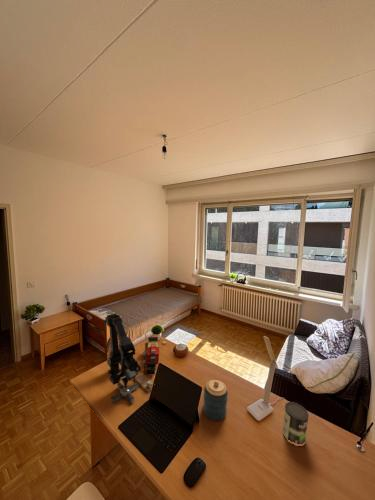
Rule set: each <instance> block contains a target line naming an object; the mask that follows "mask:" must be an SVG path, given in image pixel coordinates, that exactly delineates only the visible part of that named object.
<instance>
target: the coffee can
mask: <svg viewBox="0 0 375 500" xmlns="http://www.w3.org/2000/svg"><path fill="white" fill-rule="evenodd" d="M283 415H284V416H283V426H282V431H283V432H282V434H283V433H284V435H285V437H286V438H287V439H288V440H290V441H291V442H294V443H297V444H303V443H304V442H305V443H306V439H307V431H308V423H309V422H308V421H309V417H310V416H309V412H308V411H307V409H306V408H305V407H304V406H303V405H301V404H300V403H298V402H295V401H288V402H286V403H285V405H284V414H283Z"/></svg>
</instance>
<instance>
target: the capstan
mask: <svg viewBox="0 0 375 500" xmlns="http://www.w3.org/2000/svg"><path fill="white" fill-rule="evenodd" d="M116 387H117V389H118V390H119V392H118V393H116V394H115V395H113V396H111V398H110V399H111V402H112V403H115V402H116V401H119V400H120V399H122V400H126V399H127V400H128V401H129V402H130V403H131V404H132V403H135V397H134V396H133V394H132V393H131V392H133V391H135V390H137V389H138V388H139V384H138V383H137V382H135V383H134V384H132V385H131V386H129V385H127V386H124V384H122V383H121V381H120V382H119V383H117V384H116Z"/></svg>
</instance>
